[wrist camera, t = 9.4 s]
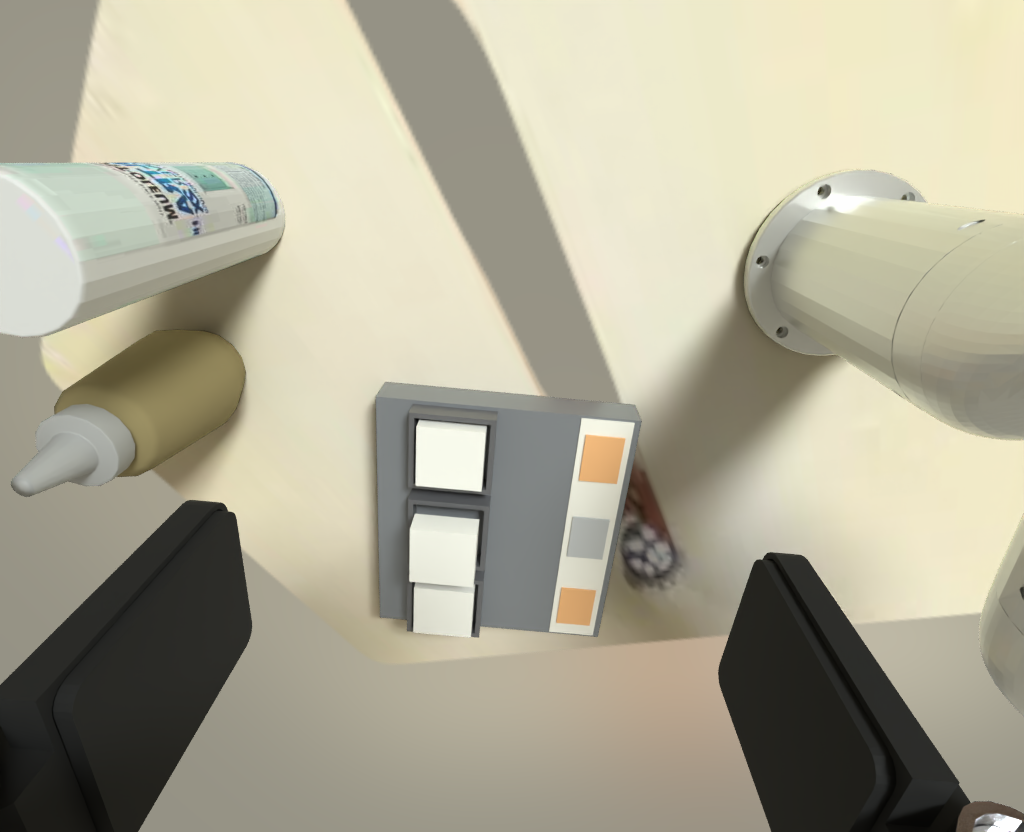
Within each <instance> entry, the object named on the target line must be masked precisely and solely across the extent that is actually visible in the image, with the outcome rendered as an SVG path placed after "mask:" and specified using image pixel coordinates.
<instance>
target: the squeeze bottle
mask: <svg viewBox="0 0 1024 832" xmlns="http://www.w3.org/2000/svg"><path fill="white" fill-rule="evenodd" d="M245 373H246V371H245V367H244V364H243V360H242V357H241V356H240V355H239V353H238V352H237V350H236V349H235V348H234V346H233V345H232V344H230V343H229V342H228V341H226V340H225V339H223V338H222V337H221V336H219V335H216V334H213V333H210V332H206V331H195V330H163V331H155V332H153V333H151V334H149V335H148V336H146V337H144V338H142V339H140V340H139V341H137V342H136V343H134V344H133V345H131V346H130V347H128V348H127V349H125V350H124V351H122V352H121V353H119V354H118V355H116V356H115V357H113V358H112V359H110V360H109V361H107V362H106V363H104V364H103V365H101V366H100V367H98V368H97V369H96V370H94V371H93V372H91V373H90V374H88V375H87V376H85V377H84V378H82V379H81V380H79V381H78V382H76V383H75V384H73V385H72V386H70V387H69V388H67V389H66V390H64V391H63V392H62V394H61V395H60V397H59V399H58V401H57V403H56V405H55V406H54V412H55V415H53V416H51V417H49V418H47V419H46V420H44V421H42V422H41V424H40V426H39V428H38V429H37V431H36V448H37V450H38V453H37V454H36V455H35V456H34V457H33V458H32V460H31V461H30V462H29V463H28V464H27V465H26V466H25V467H24V468H23V469H22V470H21V471H20V472H19V473H18V474H17V475H16V476H15V477H14V478H13V479H12V481H11V486H12V488H13V490H14V491H16V493H18V494H20V495H21V496H25V497H30V496H32V495H35V494H37V493H40V492H42V491H45V490H47V489H50V488H52V487H55V486H57V485H60V484H63V483H65V482H67V481H69V482H72V483H76V484H79V485H83V486H101V485H103V484H105V483H107V482H109V481H111V480H113V479H114V478H115V477H126V476H138V475H140V474H142V473H144V472H146V471H148V470H150V469H152V468H154V467H156V466H157V465H159V464H160V463H162V462H164V461H165V460H167V459H168V458H170V457H172V456H173V455H175V454H176V453H178V452H180V451H181V450H183V449H184V448H186V447H188V446H189V445H191V444H192V443H194V442H196V441H197V440H199V439H200V438H202V437H204V436H205V435H207V434H208V433H210V432H212V431H213V430H215V429H216V428H218V427H220V426H221V425H223V424H224V423H226V422H227V421H228V419H229V418H230V416H231V415H232V414H233V412H234V411H235V410H236V408H237V405H238V402H239V399H240V395H241V392H242V389H243V386H244V380H245Z"/></svg>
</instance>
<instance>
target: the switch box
mask: <svg viewBox="0 0 1024 832" xmlns="http://www.w3.org/2000/svg"><path fill="white" fill-rule="evenodd" d="M419 419H431V420H442V421H452V422H463V423H474V424H485V425H487V438H486V451H485V465H484V478H483V485H482V491H481V492H479V491H468V490H457V489H446V488H435V487H424V486H416V426H417V424H418V422H419ZM641 422H642V421H641V418H640V416H639V413H638V411H637V408H636V406H635V405H631V404H620V403H609V402H598V401H587V400H575V399H565V398H555V397H544V396H533V395H522V394H511V393H500V392H489V391H479V390H468V389H457V388H446V387H435V386H424V385H413V384H402V383H391V382H385V383H384V385H383V386H382V388H381V389H380V391H379V392H378V394H377V396H376V433H377V485H378V537H379V590H380V617H382V618H393V619H404V620H407V631H411V632H413V622H414V586H415V583H416V582H409V562H410V527H411V524H412V521H413V518H414V515H415V514H425V515H436V516H447V517H458V518H469V519H479V531H478V545H477V558H476V571H475V578H474V584H476V585H475V599H474V612H473V623H472V631H471V637H479V633H480V626H483V627H494V628H505V629H516V630H527V631H538V632H550V633H561V634H572V635H583V636H594V637H598V633H599V628H600V623H601V618H602V613H603V608H604V603H605V598H606V594H607V589H608V584H609V579H610V574H611V569H612V564H613V559H614V554H615V549H616V545H617V540H618V535H619V530H620V525H621V520H622V515H623V510H624V505H625V500H626V495H627V491H628V486H629V481H630V476H631V471H632V466H633V461H634V456H635V451H636V446H637V441H638V437H639V432H640V427H641Z"/></svg>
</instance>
